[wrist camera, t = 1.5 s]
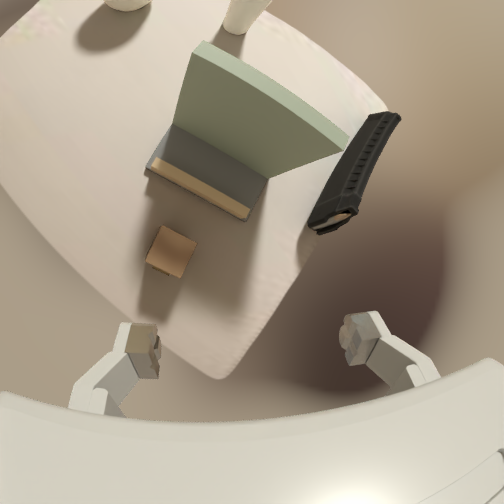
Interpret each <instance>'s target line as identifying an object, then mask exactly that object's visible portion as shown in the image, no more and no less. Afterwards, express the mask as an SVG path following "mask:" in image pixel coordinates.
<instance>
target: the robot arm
mask: <svg viewBox="0 0 504 504" xmlns="http://www.w3.org/2000/svg"><path fill="white" fill-rule="evenodd" d="M344 323H345V324H344V325H343V326H342V327H341V329H340V332H339V340H340V344H341V347H342V348H344V349H345V350H346V353H345V356H346V359H347V361H348V364H349V366H352V365H358V364H364V363H366V365H367V366H368V367H369V368H370V369H372V370H373V371H374V372H375V373H376V374H377V375H378V376H379V377H380V378H382V379H383V380H384V381H385V382H386V383H387V384H388V385H389V386H391V389H390V390H389V391H388V392H387V394H386V396H385V397H382V398H378V399H374V400H371V401H367V402H363V403H359V404H354V405H350V406H345V407H341V408H336V409H331V410H326V411H321V412H314V413H308V414H302V415H295V416H287V417H279V418H270V419H260V420H247V421H229V422H173V421H155V420H142V419H131V418H126V416H125V415H124V414H123V412H122V411H121V410H120V408H119V407H118V406H119V405H120V404H121V402H122V401H123V400H124V398H125V397H126V396H127V395H128V393H129V392H130V391H131V390H132V388H133V387H134V385H136V383H137V382H138V381H139V378H142V379H143V378H144V379H158V375H159V368H160V366H159V363H158V360H159V359H160V358H161V340H160V337H159V336H158V335H157V331H158V329H157V326H156V324H145V323H121V324H120V326H119V329H118V333H117V336H116V340H115V343H114V347H113V350H112V352H108V353H107V354H106V355H105V356H104V357H103V358H102V359H101V360H99V362H98V363H96V364H95V365H94V366H93V367H92V368H91V369H90V370H89V371H87V372H86V373H85V374H84V375H83V376H82V377H81V378H80V379H79V380H78V381H77V382H76V383H75V384H74V387H73V391H72V395H71V398H70V402H69V406H68V408H65V407H61V406H57V405H53V404H49V403H45V402H41V401H38V400H34V399H31V398H27V397H24V396H21V395H18V394H15V393H12V392H9V391H2V392H0V504H504V366H503V365H502V364H500V363H499V362H497V361H495V360H494V359H492V358H485V359H482V360H480V361H478V362H476V363H474V364H472V365H470V366H467V367H465V368H463V369H461V370H458V371H456V372H454V373H452V374H449V375H446V376H444V377H440V375H439V373H438V372H437V370H436V368H435V366H434V364H433V362H432V361H431V359H430V358H429V357H427V356H426V355H424V354H422V353H421V352H419V351H418V350H416V349H414V348H413V347H412V346H410V345H409V344H407V343H405V342H404V341H402V340H401V339H399V338H398V337H396V336H394V335H393V336H392V335H391V334H390V332H389V330H388V328H387V327H386V325H385V323H384V322H383V320H382V318H381V316H380V315H379V313H378V312H377V311H372V312H364V313H355V314H348V315H346V316H345V318H344Z"/></svg>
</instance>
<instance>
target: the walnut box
mask: <svg viewBox="0 0 504 504" xmlns="http://www.w3.org/2000/svg"><path fill="white" fill-rule="evenodd" d="M197 244H198V243H196V242H194V241H192V240H190V239H188V238H186V237H184V236H183V235H181V234H179V233H177V232H175V231H173V230H171V229H169V228H167V227H165V226H163V225H162V226H161V227H160V229H159V231H158V233H157V235H156V237H155V239H154V241H153V243H152V245H151V247H150V249H149V252H148V254H147V256H146V260H145V262H147V263H149V264H151V265H153V268H154V269H156V270H158V271H160V272H162V273H164V274H166V275H168V276H169V274H172V275H174V276H176V277H178V278H181V276H182V274H183V272H184V270H185V268H186V266H187V264H188V262H189V260H190V258H191V256H192V254H193V252H194V250H195V248H196V246H197Z"/></svg>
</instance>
